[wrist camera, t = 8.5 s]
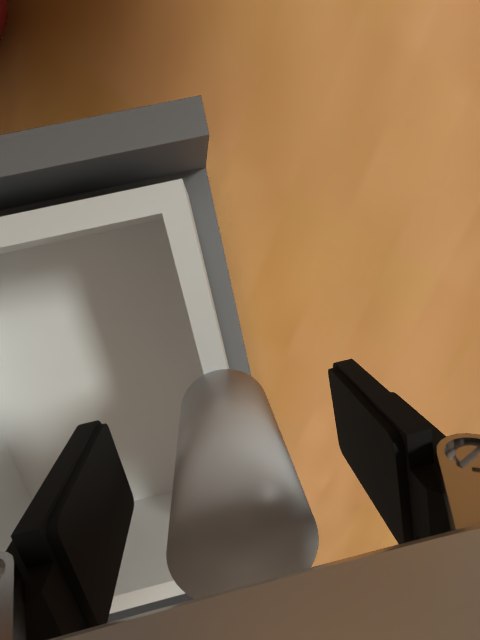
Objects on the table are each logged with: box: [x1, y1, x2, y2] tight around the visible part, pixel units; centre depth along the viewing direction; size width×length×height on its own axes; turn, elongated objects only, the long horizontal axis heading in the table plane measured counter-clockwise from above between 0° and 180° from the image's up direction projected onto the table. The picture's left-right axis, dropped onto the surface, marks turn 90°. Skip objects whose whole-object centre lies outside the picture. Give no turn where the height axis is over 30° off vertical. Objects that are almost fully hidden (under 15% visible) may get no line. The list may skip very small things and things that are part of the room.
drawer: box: [0, 179, 319, 614], centre depth 12 cm, size 13×15×11 cm
